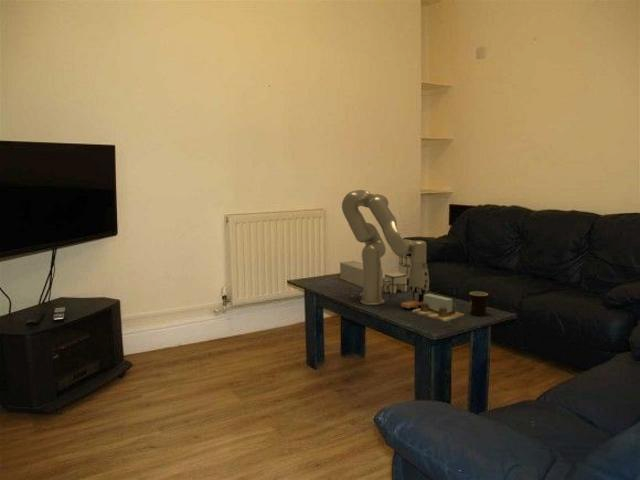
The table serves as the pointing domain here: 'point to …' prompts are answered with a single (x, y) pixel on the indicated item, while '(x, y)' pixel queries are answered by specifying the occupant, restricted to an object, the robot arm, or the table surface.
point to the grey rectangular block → (354, 272)
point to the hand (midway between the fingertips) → (418, 300)
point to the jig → (438, 313)
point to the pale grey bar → (438, 302)
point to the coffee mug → (478, 303)
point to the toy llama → (398, 277)
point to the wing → (412, 302)
